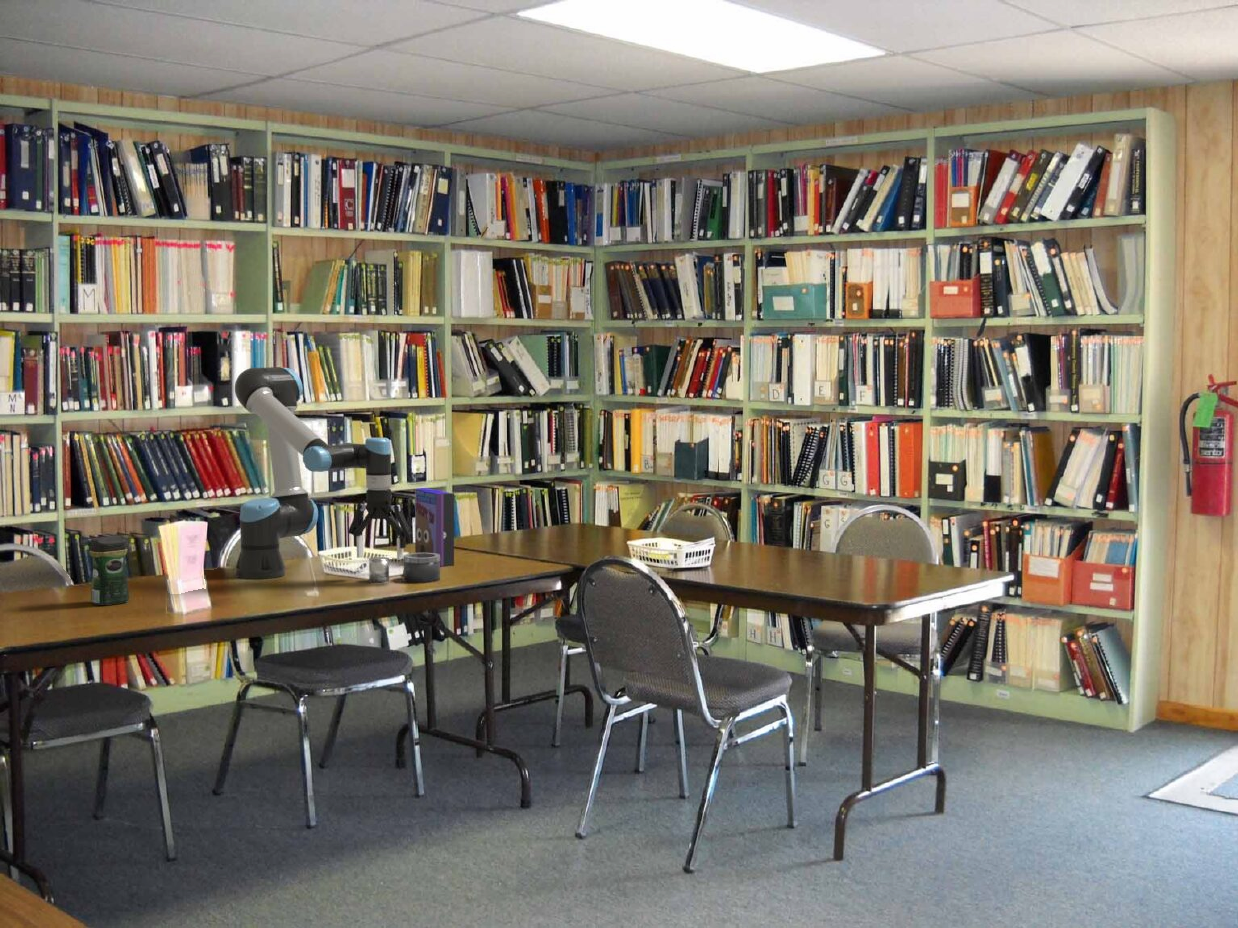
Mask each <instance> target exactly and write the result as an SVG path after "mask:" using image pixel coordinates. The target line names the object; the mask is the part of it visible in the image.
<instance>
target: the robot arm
mask: <svg viewBox="0 0 1238 928" xmlns="http://www.w3.org/2000/svg"><path fill="white" fill-rule="evenodd" d="M303 387H304V386H303V383H302V380H301V378H300V376H299V374H297V373H296V372H295V371H294V370H293V369H291V368H289V367H281V366H274V367H272V366H271V367H250V368H247V369H245V370H244V371H242V372H241V373H240V374H238V376H237V378H236V380H235V383H234V394H235V397H236V399H237V401H238V402H239V403H240V405H241V406H242V407H243V408H244V409H245V410H247V412H248V413H250V414H253V415H254V414H256V415H257V416H258V417H259V418H260V419H261V420H262V421H263V422H264V423H266V429H267V438H268V446H269V447H268V448H269V454H270V461H271V469H272V470H271V471H272V476H273V485H274V492H273V493H272V495H271V496H270V497H263V498H254V499H251V500H248V501H245V502H244V503H242V505H240V506H241V507H240V514H239V527H240V530H239V531H240V532H239V533H240V552H239V555H238V559H237V561H236V565H235V569H234V570H235V571H234V576H235V577H237V578H242V579H252V580H253V579H255V580H257V579H271V578H278V577H279V578H280V577H282V576H285V575H286V566H285V562H284V560H283V559H284V558H283V557H282V553H281V551H280V539H285V538H291V537H300V536H302V535H307V534H308V533H310V532H312V531H313V530H314V528H315V526H316V525H317V522H318V519H319V509H318V506H317V504H316V503H315V501H314V500H313V499H312V498H309V491H307V490H306V489H305V488H304V487H303V482H302V473H301V466H300V457H299V455H301V456H302V463H303V464H304V467H305V468H306V470H308V471H309V472H314V473H315V472H318V473H325V472H329V471H337V470H348V469H364V470H365V487H366V488H367V489H366V492H365V493H366V495H365V496H366V499H365V500H366V504H365V503H363V502H362V503H359V504H357V506H356V512H355V515H354V517H353V519H352V522H351V523H350V526H349V528H348V531H347V533H348V534H349V535H352V536H353V539H354V540H353V542H354V543H353V545H354V547H356V558H357V559H359V558H363V557H364V535H362V533H363V531H365V529H366V528H367V527H368V525H369V524H370V522H371V521H372V520H382V521H383V520H385V521H386V522H387V523H388V524H389V526H390V527H391V528H392V529H393V530H394V532H395V534H397V536H398V537H397V538H396V559H397V560H402V559H403V560H404V549H405V548H406V546H407V545H406V543H407V541H406V540H407V539H406V538H407V537H409V536H411V535H412V534H413V533H412V531H411V528H410V526H409V524H408V522H407V520H406V518H405V515H404V513H403V509H402V505H401V504H397V505H396V504H395V505H392V499H393V497H392V489H391V488H392V467H391V466H392V449H391V441H390V439H389V438H387V437H367V438H366V439H365V443H353V442H345V443H344V442H343V443H342V442H341V443H339V444H331V445H329V444H328V443H327V442H325V441H324V440H323V439H322V438H321V437H319V435H318V434H316V433H315V432H314V431H313V430H312V429H311V428H310V427H308V426H307V425H306V424H305V423H304V422H303V421H302V420H301V419H299V417H298V416H296V415H295V414H294V413H295V411H296V410H297V409H298V404H297V403H298V401H299V400H300V399H301V397H302V395H303V391H304V389H303ZM365 511H366V512H367V514H366V515H365V517H364V519H363V520H362V517H363V515H364V512H365ZM392 511H393V513H394V515H395V517H396V519H397V520H396V519H395V517H394V515H393V514H392ZM361 520H362V522H361ZM360 522H361V523H360Z"/></svg>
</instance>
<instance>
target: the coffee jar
mask: <svg viewBox="0 0 1238 928" xmlns="http://www.w3.org/2000/svg"><path fill="white" fill-rule="evenodd" d="M127 553H128V546H127V540H126V538H125V537H124V536H120V535H111V536H110V535H107V536H100V537H95V538H91V539H90V543H89V555H90V557H91V560H92V561H91V562H92V575H91V576H92V578H91V579H92V580H91V589H90V590H91V591H90V601H91V603H92V604H93V605H94V606H98V605H99V606H111V605H112V606H113V605H119V604H123V603H127V602H128V601H129V600H130V593H129V591H130V590H129V585H128V577H127V571H126V570H127V569H126V556H127Z"/></svg>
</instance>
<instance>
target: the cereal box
mask: <svg viewBox="0 0 1238 928" xmlns="http://www.w3.org/2000/svg"><path fill="white" fill-rule="evenodd" d="M414 508H415V510H414V512H415V513H414V518H415V520H414V522H415V523H414V533H415V534H414V535H415V537H414V539H415V540H414V542H415V545H414V549H415V551H414V553H436V554H440V568H445V567H454V566H455V493H453V492H448V491H442V490H436V489H433V488H415V489H414Z"/></svg>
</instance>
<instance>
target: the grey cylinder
mask: <svg viewBox="0 0 1238 928" xmlns="http://www.w3.org/2000/svg"><path fill="white" fill-rule="evenodd" d="M368 582H369V583H373V584H383V583H389V582H390V558H389V557H386V556H374V557H373V556H372V557H369V558H368Z"/></svg>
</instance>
